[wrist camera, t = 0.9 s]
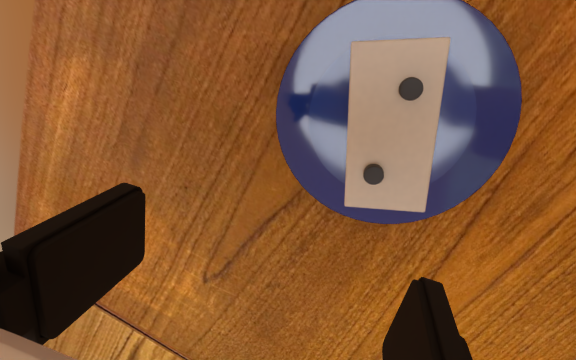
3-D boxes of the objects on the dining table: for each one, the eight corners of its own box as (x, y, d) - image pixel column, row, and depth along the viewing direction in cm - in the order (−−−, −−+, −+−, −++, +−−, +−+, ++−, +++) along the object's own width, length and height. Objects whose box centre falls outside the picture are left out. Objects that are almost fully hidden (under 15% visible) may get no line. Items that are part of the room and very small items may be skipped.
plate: (321, -43, 19) (319, -48, 19) (574, 40, 18) (585, 39, 17) (255, 174, 26) (251, 178, 25) (437, 247, 25) (439, 255, 24)
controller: (353, 44, 20) (350, 40, 16) (436, 41, 19) (454, 35, 15) (347, 186, 23) (343, 210, 20) (416, 190, 22) (427, 217, 18)
